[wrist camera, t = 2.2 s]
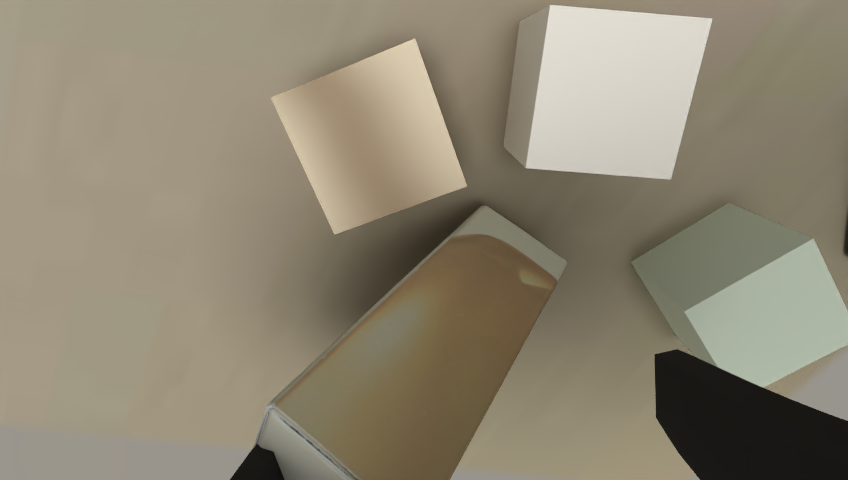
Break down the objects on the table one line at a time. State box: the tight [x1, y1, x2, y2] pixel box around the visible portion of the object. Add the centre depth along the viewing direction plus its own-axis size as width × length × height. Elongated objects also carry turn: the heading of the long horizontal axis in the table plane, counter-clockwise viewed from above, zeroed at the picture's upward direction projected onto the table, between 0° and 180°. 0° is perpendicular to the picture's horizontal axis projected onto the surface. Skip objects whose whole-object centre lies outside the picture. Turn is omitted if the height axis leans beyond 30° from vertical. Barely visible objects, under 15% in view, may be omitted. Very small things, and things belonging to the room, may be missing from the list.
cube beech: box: [271, 39, 467, 235], centre depth 18 cm, size 5×5×5 cm
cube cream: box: [503, 5, 712, 179], centre depth 17 cm, size 5×5×5 cm
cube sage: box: [631, 203, 848, 387], centre depth 20 cm, size 5×5×5 cm
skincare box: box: [253, 205, 567, 480], centre depth 16 cm, size 6×4×12 cm
